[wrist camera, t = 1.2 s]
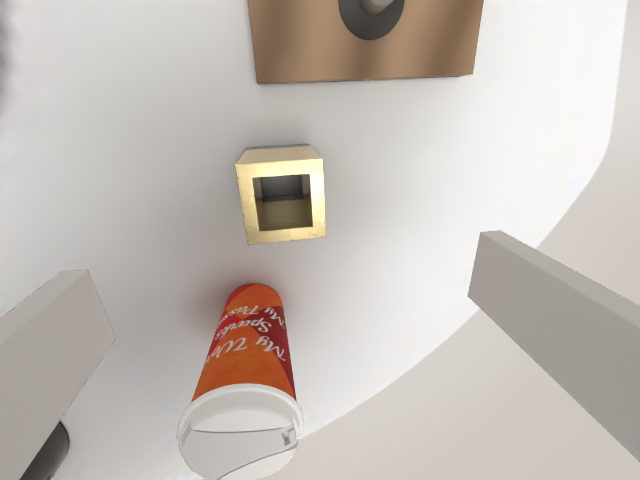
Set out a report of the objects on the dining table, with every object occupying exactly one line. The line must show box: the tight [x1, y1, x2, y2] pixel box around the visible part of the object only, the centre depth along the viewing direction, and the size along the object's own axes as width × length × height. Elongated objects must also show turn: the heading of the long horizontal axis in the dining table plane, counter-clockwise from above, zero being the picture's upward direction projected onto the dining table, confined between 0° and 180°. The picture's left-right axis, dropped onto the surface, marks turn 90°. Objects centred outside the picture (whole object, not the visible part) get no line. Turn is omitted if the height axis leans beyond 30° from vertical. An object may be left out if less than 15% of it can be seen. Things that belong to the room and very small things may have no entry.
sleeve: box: [236, 144, 326, 245], centre depth 22 cm, size 5×5×8 cm
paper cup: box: [176, 284, 304, 480], centre depth 24 cm, size 8×8×14 cm
